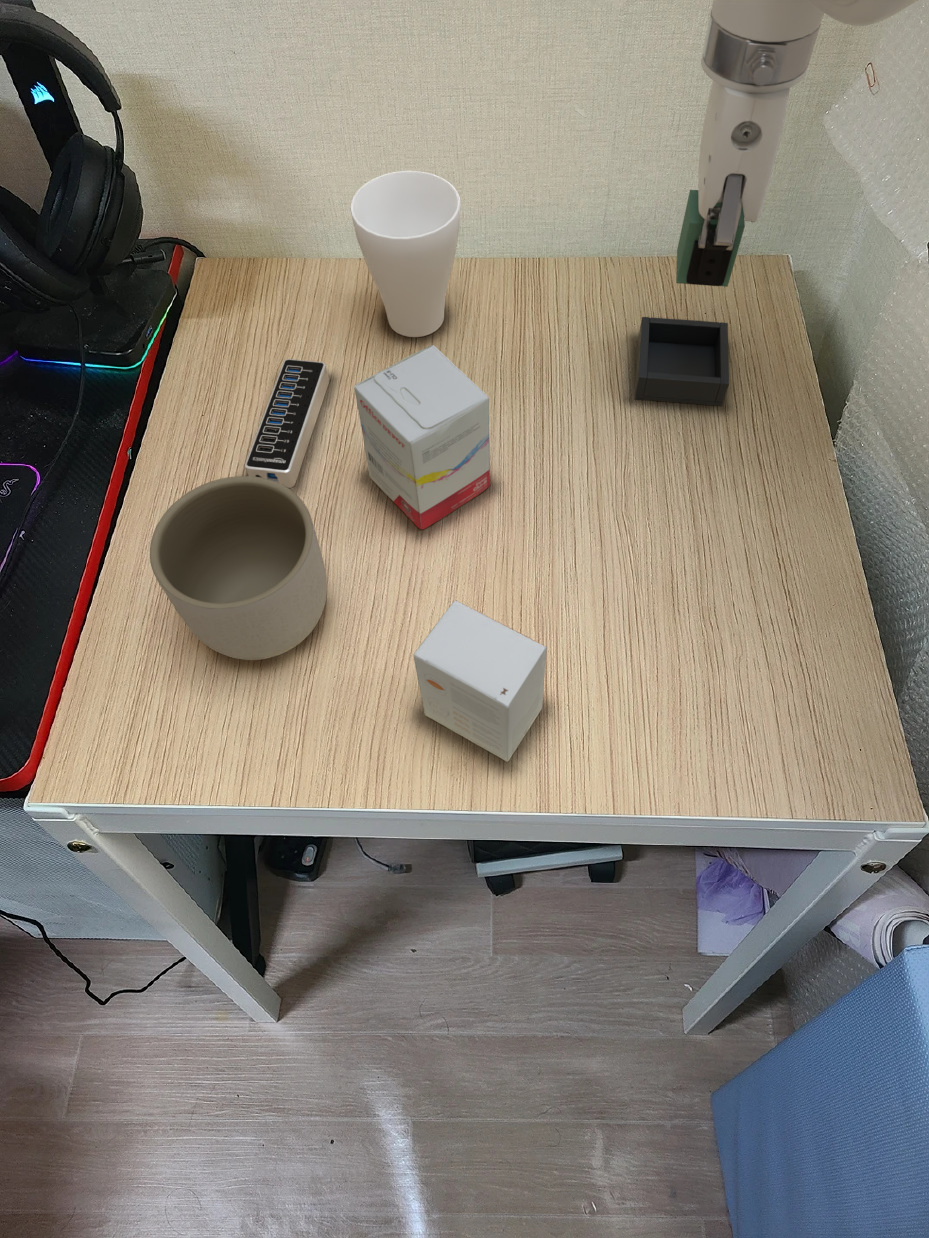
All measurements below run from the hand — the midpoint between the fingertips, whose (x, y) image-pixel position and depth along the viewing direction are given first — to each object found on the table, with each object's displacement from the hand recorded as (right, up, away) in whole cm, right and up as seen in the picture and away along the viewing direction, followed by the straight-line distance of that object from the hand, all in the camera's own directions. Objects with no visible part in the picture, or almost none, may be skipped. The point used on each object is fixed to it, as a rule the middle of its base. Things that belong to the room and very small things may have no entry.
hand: (704, 261), depth 77 cm
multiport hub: (-39, -13, +9) cm, 42 cm away
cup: (-27, 0, +17) cm, 31 cm away
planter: (-39, -31, -2) cm, 50 cm away
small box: (-20, -39, -7) cm, 45 cm away
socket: (0, -7, +11) cm, 13 cm away
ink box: (-25, -19, +5) cm, 32 cm away
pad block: (0, 0, +1) cm, 1 cm away
